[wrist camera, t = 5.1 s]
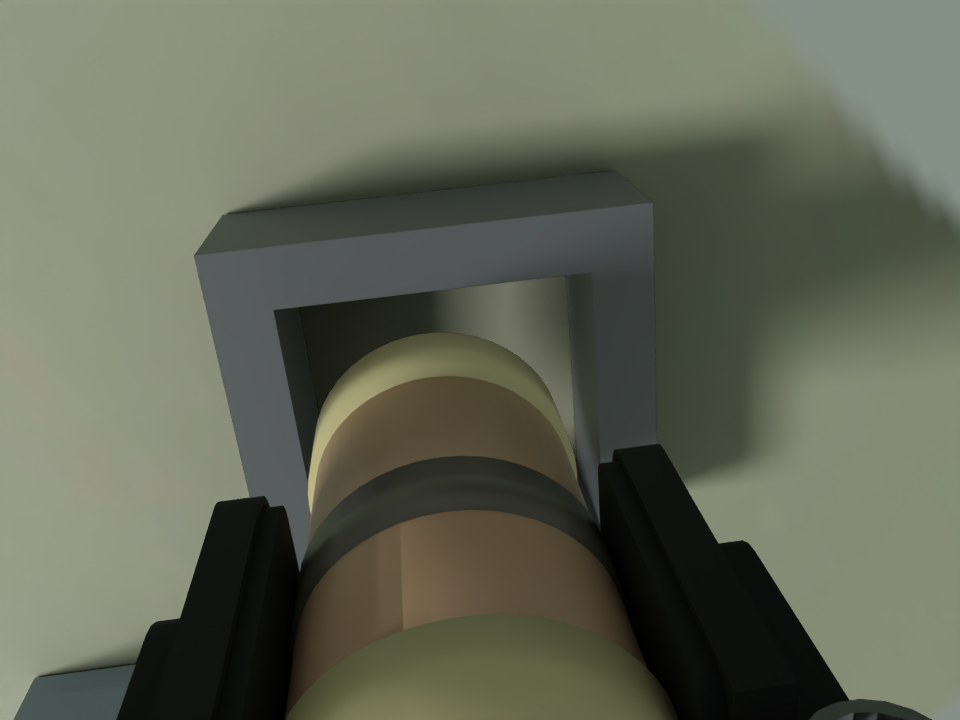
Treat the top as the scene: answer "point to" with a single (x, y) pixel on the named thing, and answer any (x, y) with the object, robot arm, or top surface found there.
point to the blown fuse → (456, 553)
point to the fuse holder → (423, 268)
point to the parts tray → (77, 695)
